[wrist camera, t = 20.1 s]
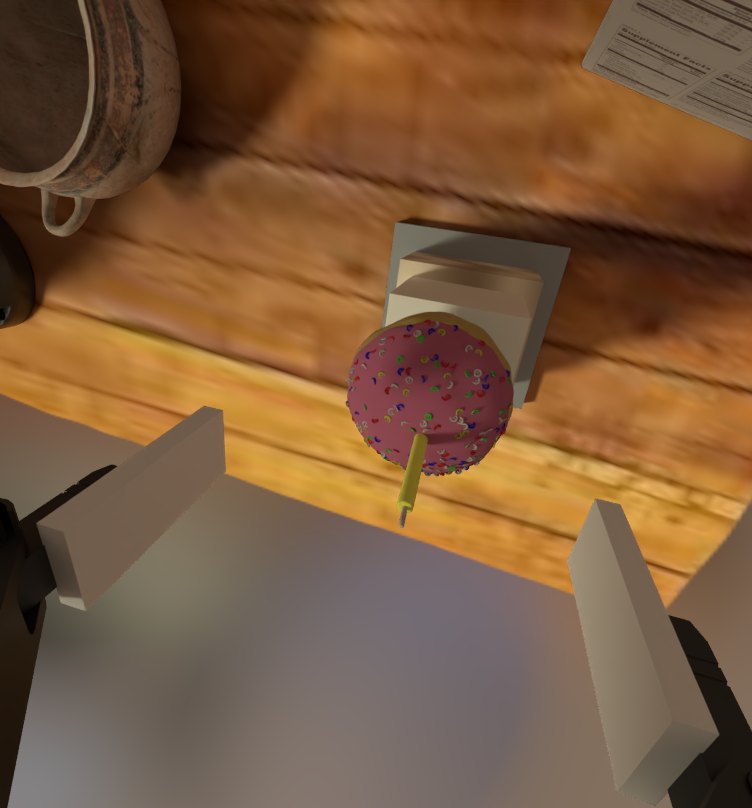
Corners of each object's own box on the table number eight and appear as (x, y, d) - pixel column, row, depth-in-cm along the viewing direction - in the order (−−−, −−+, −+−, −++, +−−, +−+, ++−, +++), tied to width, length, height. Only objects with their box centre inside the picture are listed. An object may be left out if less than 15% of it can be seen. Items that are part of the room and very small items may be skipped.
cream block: (396, 377, 34) (373, 414, 28) (411, 276, 31) (389, 293, 25) (495, 398, 33) (494, 443, 27) (524, 295, 29) (530, 319, 23)
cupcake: (513, 430, 26) (522, 581, 16) (381, 432, 29) (311, 563, 18) (509, 288, 23) (516, 357, 12) (360, 304, 25) (260, 373, 15)
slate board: (378, 372, 43) (375, 376, 41) (398, 221, 36) (395, 222, 35) (521, 403, 40) (521, 408, 39) (568, 247, 34) (571, 248, 33)
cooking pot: (10, -137, 33) (-226, -302, 22) (228, -106, 30) (79, -277, 20) (56, 209, 45) (-86, 210, 34) (217, 253, 42) (119, 269, 31)
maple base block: (398, 362, 40) (382, 385, 35) (415, 251, 36) (400, 258, 31) (505, 384, 38) (505, 412, 33) (537, 270, 34) (543, 282, 29)
